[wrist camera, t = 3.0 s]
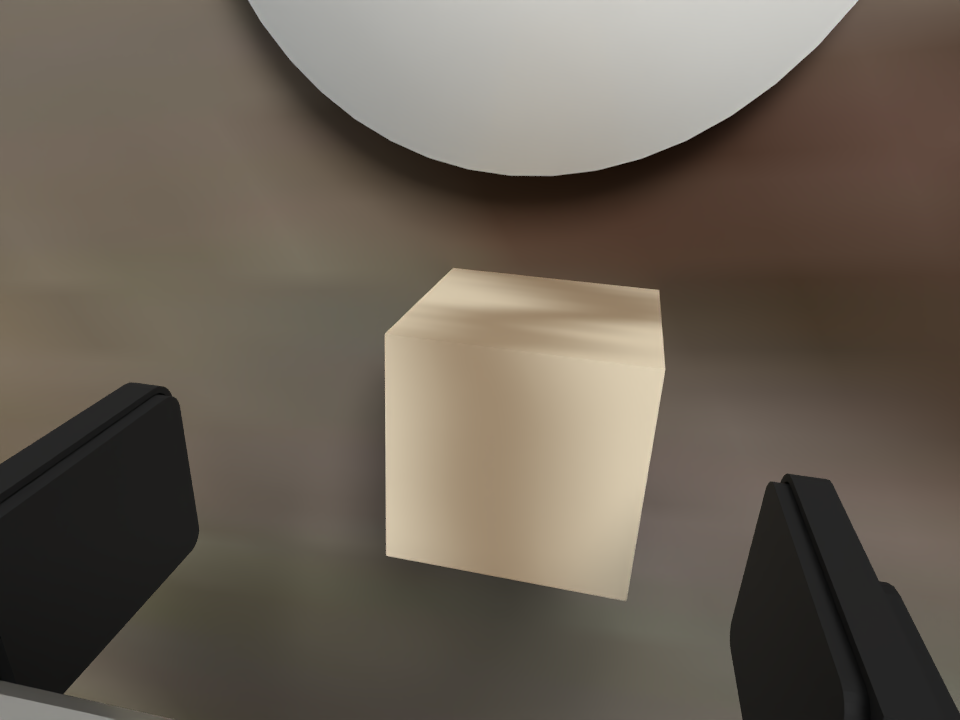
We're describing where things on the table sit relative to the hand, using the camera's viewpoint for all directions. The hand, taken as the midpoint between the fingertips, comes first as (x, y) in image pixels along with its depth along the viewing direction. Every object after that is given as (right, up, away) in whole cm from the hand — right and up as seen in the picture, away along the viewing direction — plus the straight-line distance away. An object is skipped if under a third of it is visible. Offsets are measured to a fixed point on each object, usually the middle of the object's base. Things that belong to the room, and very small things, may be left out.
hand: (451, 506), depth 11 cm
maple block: (+2, +2, +7) cm, 7 cm away
